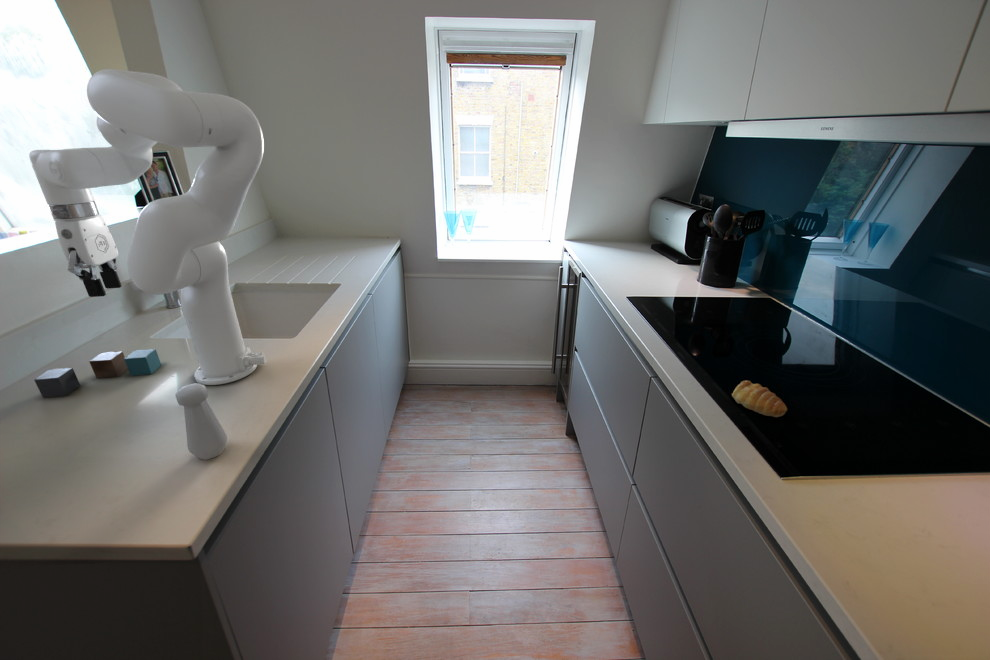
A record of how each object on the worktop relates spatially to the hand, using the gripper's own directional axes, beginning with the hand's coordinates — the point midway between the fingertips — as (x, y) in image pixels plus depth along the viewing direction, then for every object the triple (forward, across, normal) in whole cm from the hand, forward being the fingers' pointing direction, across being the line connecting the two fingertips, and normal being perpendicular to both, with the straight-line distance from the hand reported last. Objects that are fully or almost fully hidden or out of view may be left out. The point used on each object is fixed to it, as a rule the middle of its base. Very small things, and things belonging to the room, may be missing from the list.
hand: (105, 291), depth 102 cm
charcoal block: (+17, -14, +6) cm, 23 cm away
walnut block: (+17, -8, 0) cm, 19 cm away
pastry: (+18, -44, -137) cm, 145 cm away
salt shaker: (+18, -42, -34) cm, 56 cm away
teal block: (+17, -8, -7) cm, 20 cm away
